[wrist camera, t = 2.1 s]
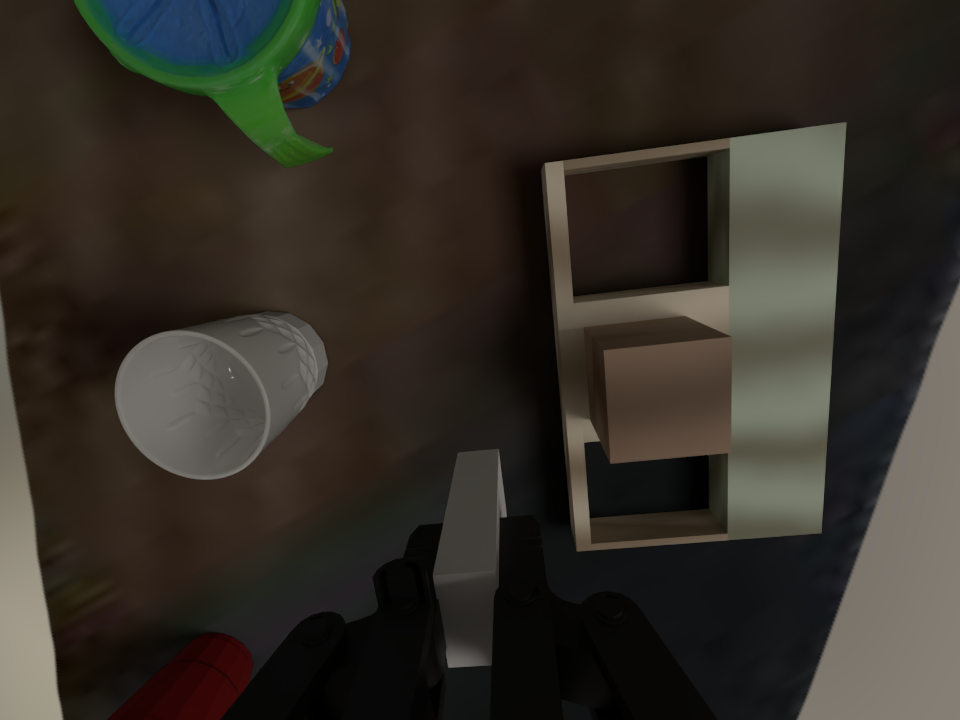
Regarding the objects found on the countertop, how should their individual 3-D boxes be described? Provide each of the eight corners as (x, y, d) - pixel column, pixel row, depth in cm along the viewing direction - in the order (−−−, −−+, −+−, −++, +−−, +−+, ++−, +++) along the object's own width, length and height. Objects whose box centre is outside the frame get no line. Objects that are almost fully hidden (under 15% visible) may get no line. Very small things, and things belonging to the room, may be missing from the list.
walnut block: (687, 410, 30) (731, 452, 24) (590, 420, 30) (610, 463, 25) (685, 316, 29) (732, 336, 23) (583, 327, 29) (603, 350, 23)
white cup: (306, 285, 32) (221, 306, 23) (355, 390, 34) (296, 451, 24) (205, 326, 33) (83, 363, 24) (258, 426, 35) (164, 499, 25)
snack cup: (162, -89, 27) (-31, -273, 17) (340, -141, 26) (242, -367, 16) (248, 196, 31) (130, 178, 21) (407, 160, 30) (359, 123, 20)
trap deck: (794, 508, 35) (821, 533, 32) (570, 525, 36) (576, 551, 33) (811, 133, 28) (846, 122, 26) (540, 170, 30) (544, 163, 27)
